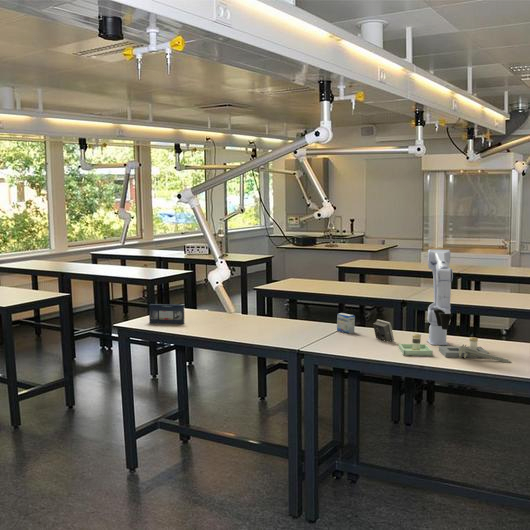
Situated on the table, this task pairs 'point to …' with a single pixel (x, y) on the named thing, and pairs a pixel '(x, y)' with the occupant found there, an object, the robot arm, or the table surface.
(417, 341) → the banded cream cylinder
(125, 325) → the table surface
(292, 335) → the table surface
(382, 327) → the electrical switch
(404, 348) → the parts tray
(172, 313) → the vhs cassette tape
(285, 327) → the table surface
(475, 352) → the caliper
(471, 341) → the fuse
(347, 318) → the medicine box
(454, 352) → the fuse block
